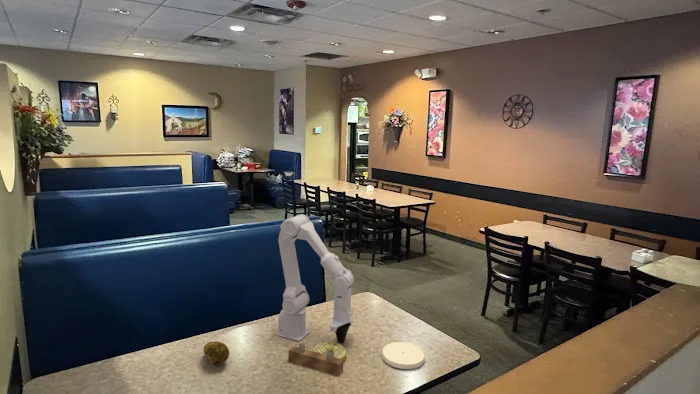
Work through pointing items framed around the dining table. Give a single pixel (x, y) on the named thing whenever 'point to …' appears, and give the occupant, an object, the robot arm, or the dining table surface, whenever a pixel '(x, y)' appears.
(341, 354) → the decorated donut
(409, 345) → the plastic lid
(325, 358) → the bar
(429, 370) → the dining table surface
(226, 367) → the dining table surface
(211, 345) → the potato
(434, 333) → the dining table surface
